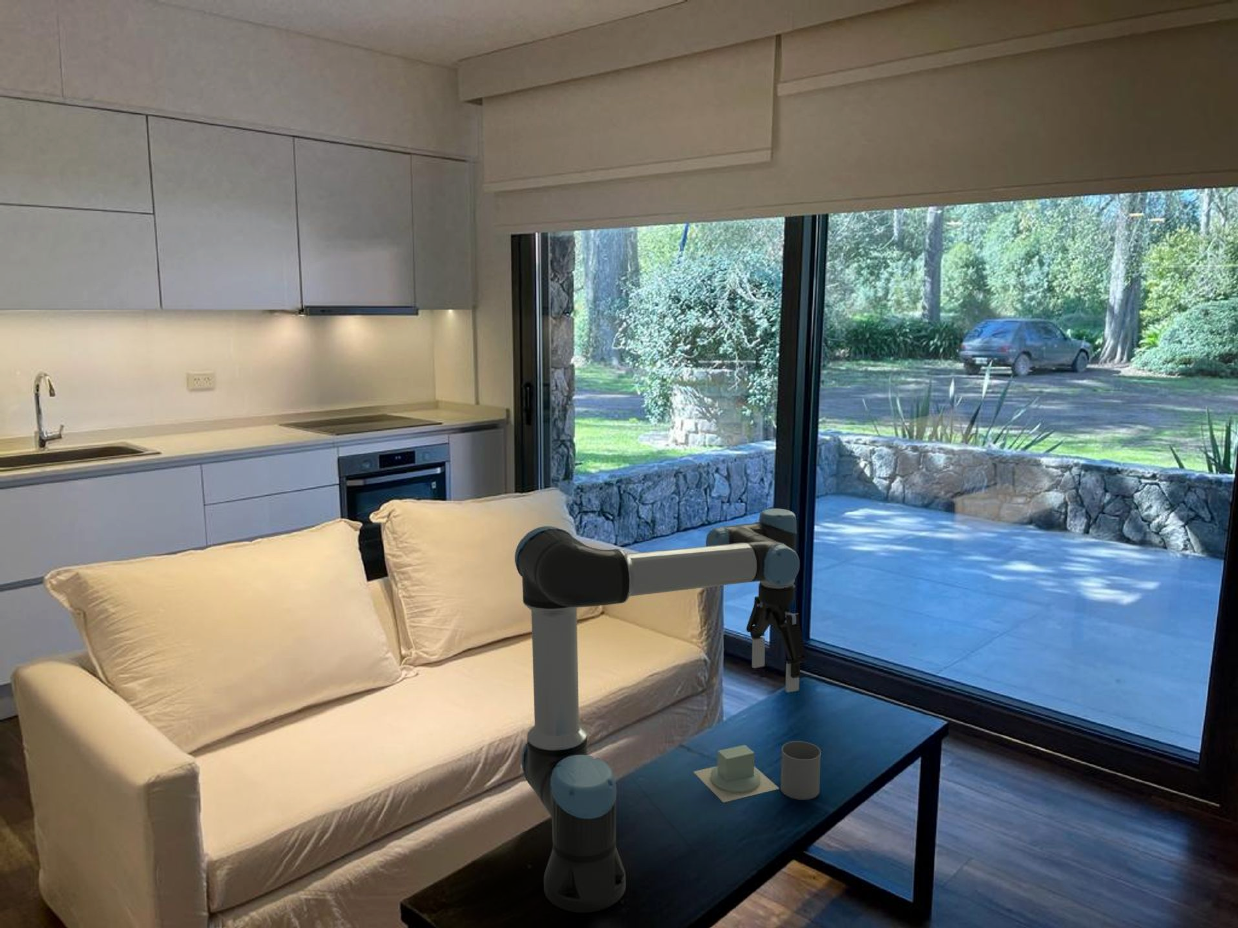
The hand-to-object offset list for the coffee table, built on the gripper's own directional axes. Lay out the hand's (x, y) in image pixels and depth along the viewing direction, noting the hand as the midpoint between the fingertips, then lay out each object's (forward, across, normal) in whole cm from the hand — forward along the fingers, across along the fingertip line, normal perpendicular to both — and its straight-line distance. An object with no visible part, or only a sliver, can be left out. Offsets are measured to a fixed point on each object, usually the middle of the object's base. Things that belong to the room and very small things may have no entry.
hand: (774, 678), depth 199 cm
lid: (+26, +7, +5) cm, 28 cm away
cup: (+27, -2, -6) cm, 28 cm away
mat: (+27, +7, +5) cm, 28 cm away
